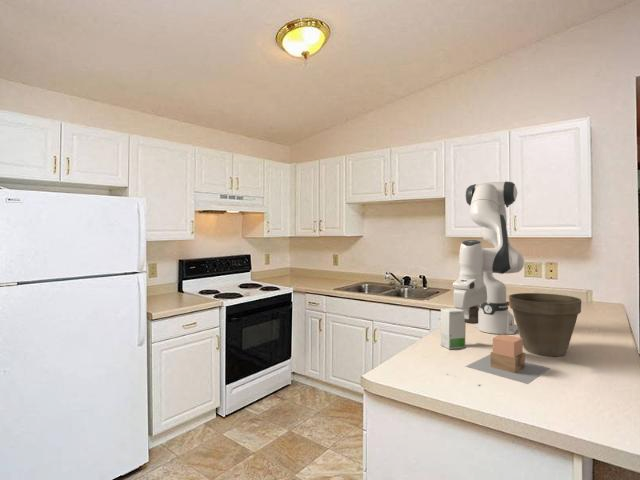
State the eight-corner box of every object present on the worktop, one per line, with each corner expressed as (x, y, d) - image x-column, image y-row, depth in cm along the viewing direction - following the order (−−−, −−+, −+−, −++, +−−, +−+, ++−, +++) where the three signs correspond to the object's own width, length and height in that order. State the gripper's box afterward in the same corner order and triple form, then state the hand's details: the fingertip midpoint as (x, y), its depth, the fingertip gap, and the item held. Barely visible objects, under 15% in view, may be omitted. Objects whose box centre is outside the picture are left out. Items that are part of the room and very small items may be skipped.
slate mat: (491, 357, 141) (491, 353, 141) (550, 372, 126) (550, 368, 126) (465, 370, 128) (465, 366, 128) (527, 388, 113) (527, 384, 113)
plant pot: (495, 345, 157) (495, 294, 156) (537, 339, 165) (537, 290, 165) (550, 364, 133) (550, 304, 133) (596, 356, 142) (597, 299, 141)
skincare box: (448, 349, 151) (448, 311, 151) (439, 345, 157) (439, 308, 157) (466, 348, 153) (466, 310, 153) (456, 343, 159) (456, 307, 159)
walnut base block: (500, 361, 133) (500, 347, 132) (524, 367, 126) (524, 352, 126) (490, 366, 127) (490, 352, 127) (515, 373, 121) (515, 358, 121)
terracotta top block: (501, 348, 132) (501, 334, 132) (522, 352, 126) (522, 338, 126) (492, 352, 127) (492, 337, 127) (514, 357, 122) (514, 342, 122)
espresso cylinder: (468, 319, 149) (468, 305, 148) (480, 322, 145) (480, 306, 145) (462, 322, 145) (462, 307, 145) (474, 324, 142) (474, 308, 141)
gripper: (476, 278, 154) (476, 311, 154) (450, 284, 140) (450, 320, 141) (491, 279, 149) (491, 314, 149) (466, 285, 136) (466, 323, 136)
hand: (471, 317), depth 145 cm, fingers closed on espresso cylinder, 5 cm apart
